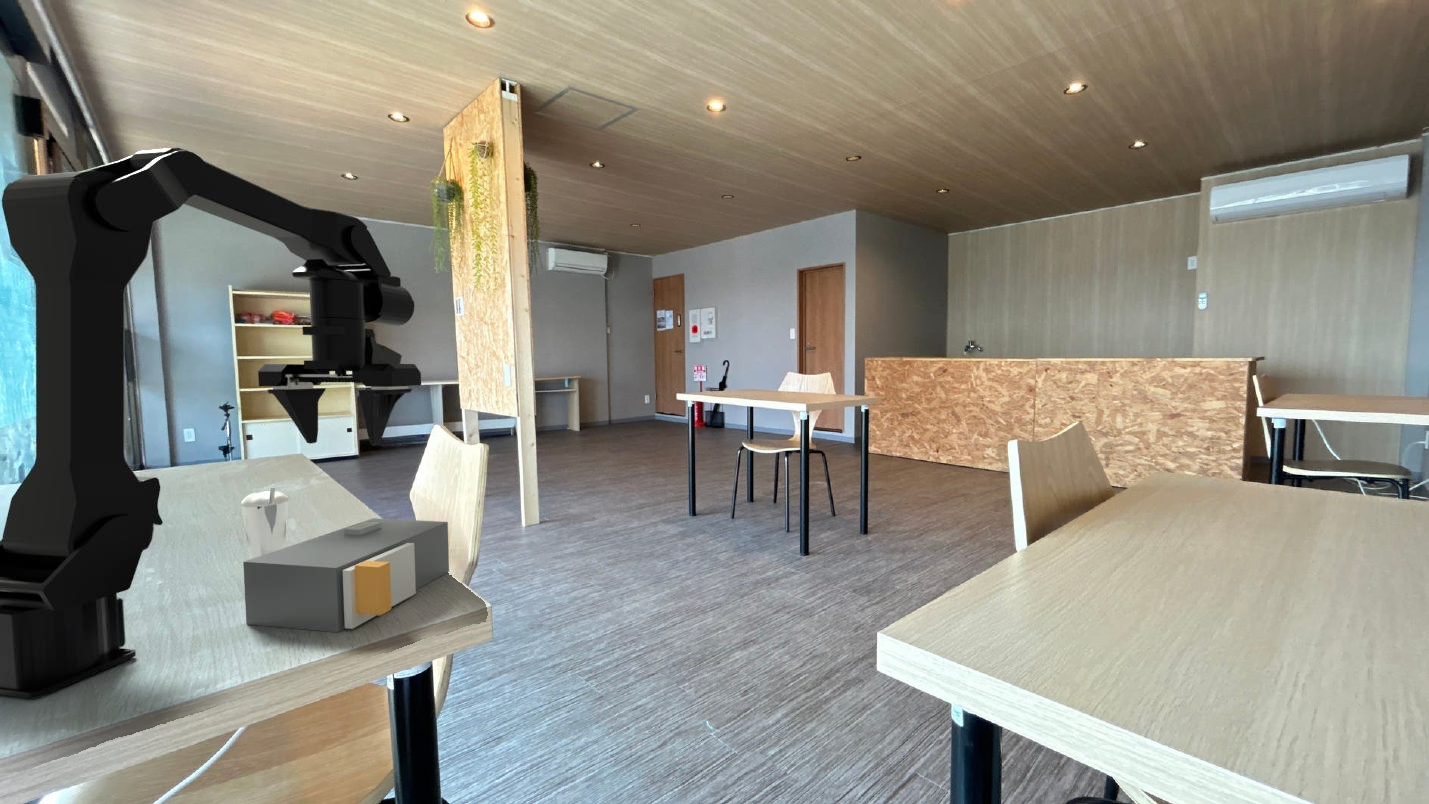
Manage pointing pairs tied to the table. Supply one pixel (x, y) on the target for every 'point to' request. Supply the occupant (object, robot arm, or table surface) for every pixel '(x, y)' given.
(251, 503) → the milkshake
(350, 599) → the side door
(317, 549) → the block
